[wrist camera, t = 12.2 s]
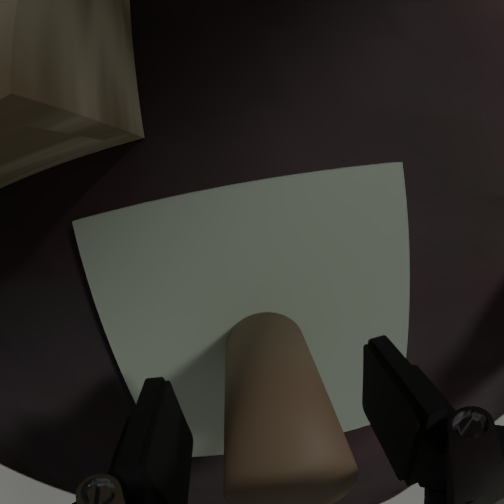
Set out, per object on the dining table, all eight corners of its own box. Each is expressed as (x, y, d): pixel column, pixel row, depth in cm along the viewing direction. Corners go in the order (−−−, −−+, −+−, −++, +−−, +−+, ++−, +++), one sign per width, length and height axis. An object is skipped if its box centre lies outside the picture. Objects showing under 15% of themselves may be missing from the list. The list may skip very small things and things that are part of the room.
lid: (84, 216, 12) (-60, 276, 4) (388, 162, 12) (545, 167, 4) (167, 443, 15) (146, 563, 7) (390, 402, 15) (454, 506, 7)
